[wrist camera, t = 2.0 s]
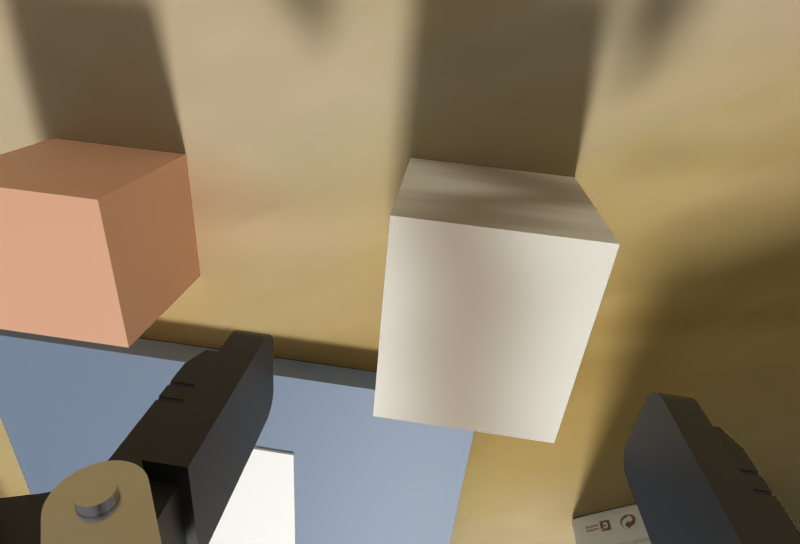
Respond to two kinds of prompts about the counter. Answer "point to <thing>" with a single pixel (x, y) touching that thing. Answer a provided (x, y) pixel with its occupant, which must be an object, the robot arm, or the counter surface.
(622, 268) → the counter surface
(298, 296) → the counter surface
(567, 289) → the cream block
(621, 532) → the supplement box
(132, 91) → the counter surface
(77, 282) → the terracotta cube
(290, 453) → the blue board
